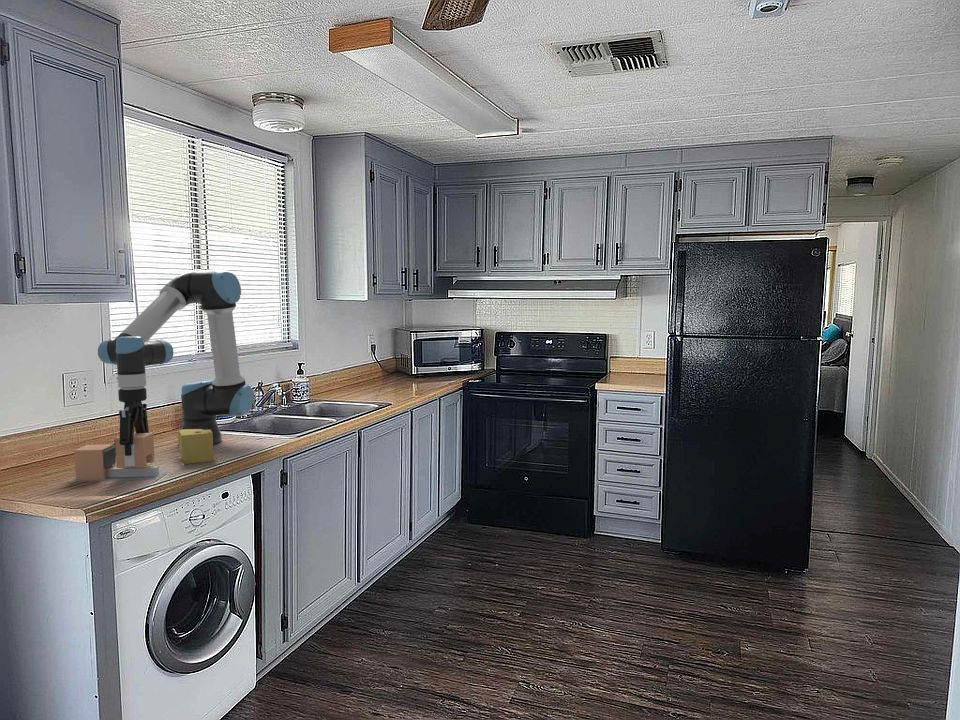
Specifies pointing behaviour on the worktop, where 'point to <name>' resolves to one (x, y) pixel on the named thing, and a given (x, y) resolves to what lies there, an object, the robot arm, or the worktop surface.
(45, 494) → the worktop surface
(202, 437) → the cheese
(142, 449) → the block
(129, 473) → the rail
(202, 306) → the robot arm
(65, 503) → the worktop surface
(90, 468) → the block
